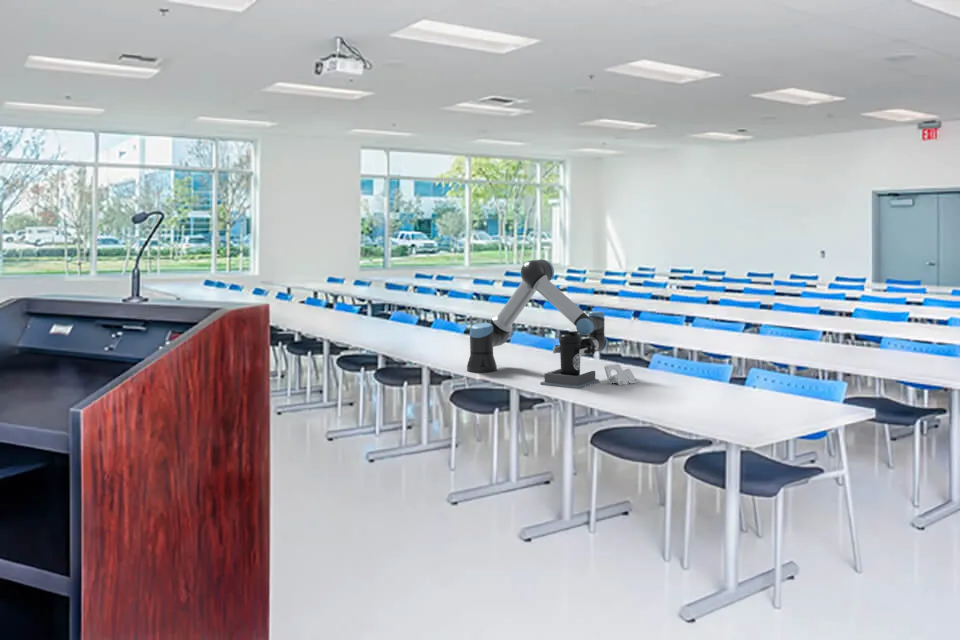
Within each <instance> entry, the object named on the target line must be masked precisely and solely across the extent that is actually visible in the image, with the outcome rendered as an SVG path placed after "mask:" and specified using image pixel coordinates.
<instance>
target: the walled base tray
mask: <svg viewBox="0 0 960 640" xmlns="http://www.w3.org/2000/svg"><path fill="white" fill-rule="evenodd" d="M598 381H599V382H600V379H597V378H596V370H591V371H587V372H584V373H582V374H581V373H580V375H578V376H572V375H562V374H561V368H559V369H555V370H553V371H548V372H544V381H543V380H542V381H540V382H539V383H540V385H541V386H542V385H543V386H549V387H550V386H553V387H560V388H570V389H583V388H585V386H586V387H588V386H591V385H594V384H596V382H597V383H599V382H598ZM593 383H594V384H593ZM590 384H591V385H590Z"/></svg>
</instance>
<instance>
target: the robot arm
mask: <svg viewBox="0 0 960 640" xmlns="http://www.w3.org/2000/svg"><path fill="white" fill-rule="evenodd" d="M520 275H521V283H520V284H519V285H518V287H517V288H516V289H515V291H514V292H513V294H512V295H511V296H510V298H509V299H508V301H507V302H506V303H505V305H504V306H503V308H502V309H501V310H500V312H499V314H498V315H497V316H493V317H492V318H491V320H490V321H489V322H480V323H475V324H473V325H471V326H470V328H469V346H470V347H469V350H470V351H469V352H470V353H469V354H470V355H469V359H468V362H467V365H466V370H467V371H468V372H471V373H490V372H491V373H492V372H495V371H497V370H498V369H497V368H498V367H497V366H498V365H497V362H496V359H495V356H494V348H495V347H499V346H502V345H503V344H505V343H506V342H507V341H508V339H509V337H510V333H511V331H512V325H513V323H514V322H515V321H516V319H517V318H518V317H519V315H520V314H521V312H522V311H523V310H524V309H525V307H526V306H527V305H528V303H529V302H530V301H531V299H532V297H533V296H534V294H535V293H536V292H538V293H539V294H540V295H541V296H542V297H543V298H544V299H545V300H546V301H548V302H549V303H550V304H551V306H553V307H554V308H555V309H557V311H558V312H560V313H561V314H562V315H563V316H564V317H565V318H566V319H567V320H569V321H570V322H571V324H573V326H575V327H576V331H579V335H584V336H585V335H588V337H585V338H581V345H580V350H579V356H580V357H582V356H586V355H594V354H595V353H596V352H601V351H604V350H605V349H606V348H607V347H608V343H609V342H608V338H607V337H606V333H605V319H606V318H605V313H604V312H603V311H600V310H599V311H596V310H594V311H590V312H589V313H588V314H586V313H585V311H584V310H583V309H581V308H580V307H579V306H578V305H577V304H575V303H574V302H573V301H572V300H571V299H570V298H569V297H568V296H567V295H566V294H565V293H564V292H562V291H561V290H560V289H559V288H558V287H557V286H556V285H555V284H554V283H553V282H551V280H552V279H553V278H554V275H555V269H554V266H553V264H552V262H550V261H549V260H547V259H542V258H541V259H534V260H533V259H532V260H528V261H526V262H525V263H523V265H522V266H521V269H520ZM552 354H560V344H556V345H555V347H552Z"/></svg>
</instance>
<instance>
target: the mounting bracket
mask: <svg viewBox="0 0 960 640" xmlns="http://www.w3.org/2000/svg"><path fill="white" fill-rule="evenodd" d="M612 370H613V371H615V372H616V373H617V374H614V375H612ZM604 372H605V374H606V377H607V382H608V384H609V383H610V384H609V385H613V384H612V383H616V384H617V385H618V386H623V385H622V384H628V385H629V383H634V384H637V382H638V379H637V378H636V377H635V375H634V373H633V372H632V370H631V369H630V368H626V369H624V370H623V368H622V366H621V365H620V364H618V363H616V364H608V365H607V364H606V365H605V366H604Z"/></svg>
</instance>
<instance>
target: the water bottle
mask: <svg viewBox="0 0 960 640" xmlns="http://www.w3.org/2000/svg"><path fill="white" fill-rule="evenodd" d="M578 333H579V331H577V330H573V331H569V330H563V331H561V332H560V336H559V337H558V343H559V345H560V353H559V354H560V355H559V357H560V358H559V359H560V369H561V374H562V375H572V376H578V375H581V356H579V350H580V345H581V340H582V338H581V336H580V333H579V334H578Z"/></svg>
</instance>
